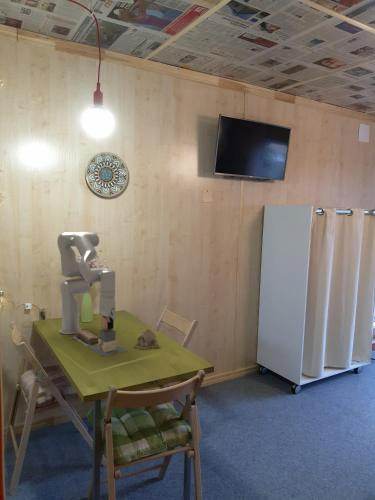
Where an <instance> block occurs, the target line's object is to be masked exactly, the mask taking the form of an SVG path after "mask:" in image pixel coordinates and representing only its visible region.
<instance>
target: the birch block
mask: <svg viewBox="0 0 375 500" xmlns="http://www.w3.org/2000/svg"><path fill="white" fill-rule="evenodd" d="M117 342H118V340H117V339H116V338H115V340H113V341H109V342H104V341H102V340H100V338H99V339H98V342H97V345H98V348H99V349H100V350H102V351H103V352H108V351H112V350H116V349H117V345H118V343H117Z"/></svg>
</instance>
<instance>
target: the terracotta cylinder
mask: <svg viewBox="0 0 375 500" xmlns="http://www.w3.org/2000/svg"><path fill="white" fill-rule="evenodd" d="M101 317H102V316H101ZM110 318H112V317H110ZM107 325H108V317H106V316H103V317H102V318H101V330H102V329H104V330H108V329H107ZM110 330H111V329H110Z"/></svg>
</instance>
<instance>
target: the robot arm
mask: <svg viewBox="0 0 375 500" xmlns="http://www.w3.org/2000/svg"><path fill="white" fill-rule="evenodd" d="M56 240H57V247H58V250H59V253H60V254H59V255H60V264H61V265H60V267H61V274H62V276H63V277H64V278H70V279H65V280H63V281H62V282H61V283H60V286H59V288H60V289H59V290H60V295H61V328H59V330H58V331H59V333H60V334H62V335H76V332H77V331H81V330H82V327H81V326H80V322H79V319H80V318H79V317H80V315H79V314H80V313H79V312H80V311H79V310H80V309H79V307H80V305H79V304H80V303H79V300H78V299H77V297H76V296H78V295H83V294H87V293H89V292H90V288H91V284H94V283H100V290H99V291H100V296H99V300H98V301H99V303H98V313H99V314H100V316H101V319H102V317H103V316H106V317H108V325H107V329H108V330H110V329H113V330H114V322H115V319H116V317H117V316H116V315H117V314H116V312H117V311H116V271H115V270H113V269H109V268H108V267H106V266H105V267H94V268H90V267H89V264H88V263H89V262H90V261H92V260H93V259H95V258H96V257H97V254H98V252H97V250H96V248H95V247H97V246H99V245H100V237H99V235H98V234H97V233H96V232H94V231H66V232H61V233H60V234H59V235H58V236H57V239H56ZM72 247H75V248H76V250H77V252H78V254H79V256H80V257H81V258H80V259H79V260H77V258H76V257H77V256H76V255H77V254H76V252H75V250H74V249H73V248H72ZM74 277H78V278H74ZM110 317H112V318H110Z"/></svg>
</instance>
